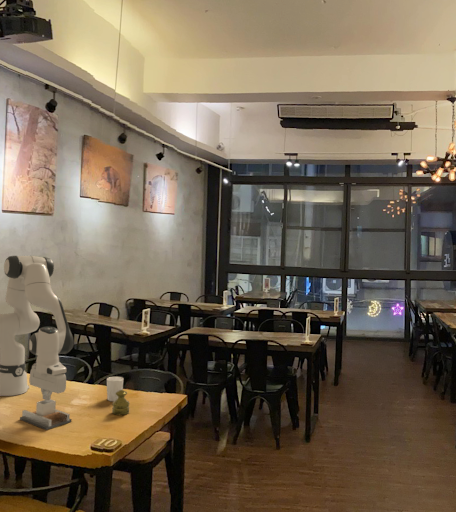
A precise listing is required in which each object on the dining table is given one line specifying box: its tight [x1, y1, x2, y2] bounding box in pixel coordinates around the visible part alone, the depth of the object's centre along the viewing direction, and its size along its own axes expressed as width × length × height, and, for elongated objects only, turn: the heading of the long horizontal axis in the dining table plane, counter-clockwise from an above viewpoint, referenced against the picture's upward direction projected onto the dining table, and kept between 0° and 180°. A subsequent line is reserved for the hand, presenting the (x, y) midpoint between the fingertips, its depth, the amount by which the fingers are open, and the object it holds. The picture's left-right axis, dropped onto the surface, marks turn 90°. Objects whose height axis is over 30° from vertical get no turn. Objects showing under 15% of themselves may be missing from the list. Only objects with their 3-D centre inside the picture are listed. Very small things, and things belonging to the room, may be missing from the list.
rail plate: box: [19, 408, 72, 431], centre depth 202 cm, size 18×12×4 cm, turn 56°
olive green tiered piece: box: [111, 389, 130, 416], centre depth 215 cm, size 7×7×10 cm
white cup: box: [106, 376, 124, 402], centre depth 233 cm, size 8×8×10 cm
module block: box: [35, 399, 57, 416], centre depth 202 cm, size 4×6×7 cm
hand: (46, 399), depth 202 cm, fingers closed
